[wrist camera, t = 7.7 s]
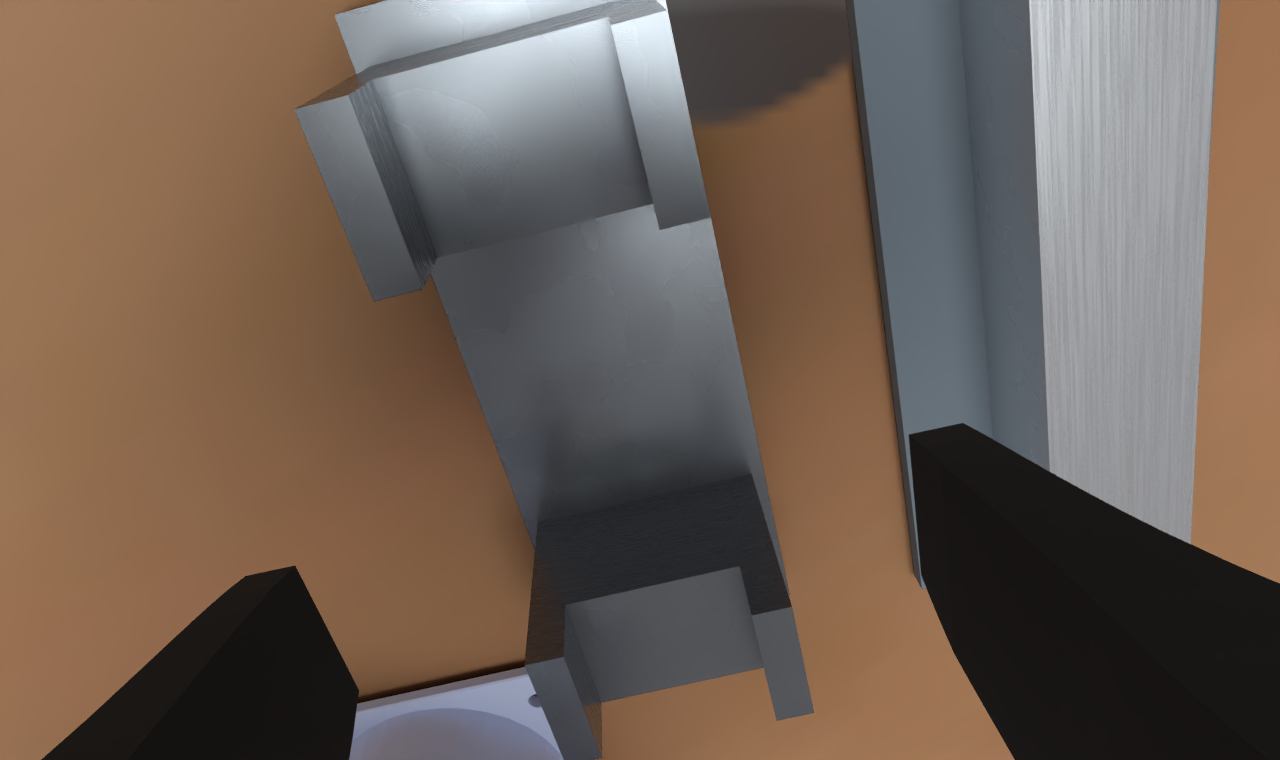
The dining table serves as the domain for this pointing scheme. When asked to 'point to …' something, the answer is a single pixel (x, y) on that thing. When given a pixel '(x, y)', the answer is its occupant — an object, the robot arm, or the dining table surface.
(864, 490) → the dining table surface
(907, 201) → the mat
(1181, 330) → the rail
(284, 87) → the dining table surface
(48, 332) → the dining table surface
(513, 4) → the rack
